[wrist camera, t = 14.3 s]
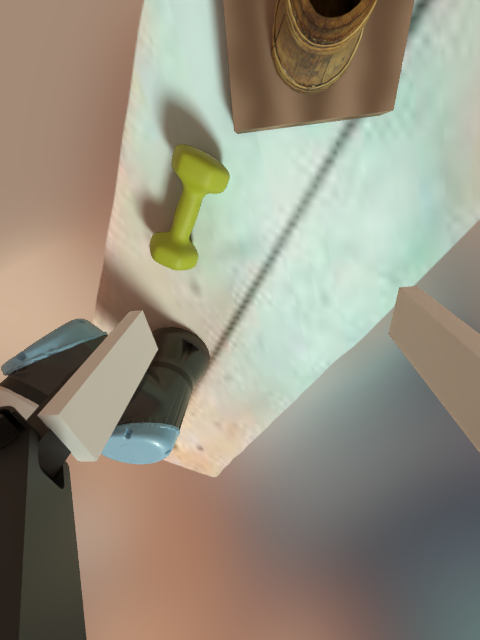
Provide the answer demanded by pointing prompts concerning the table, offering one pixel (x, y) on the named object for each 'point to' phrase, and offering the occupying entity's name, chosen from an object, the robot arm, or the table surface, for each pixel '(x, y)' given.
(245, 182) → the table surface
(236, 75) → the walnut stand
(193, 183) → the dumbbell
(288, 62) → the wooden mug
